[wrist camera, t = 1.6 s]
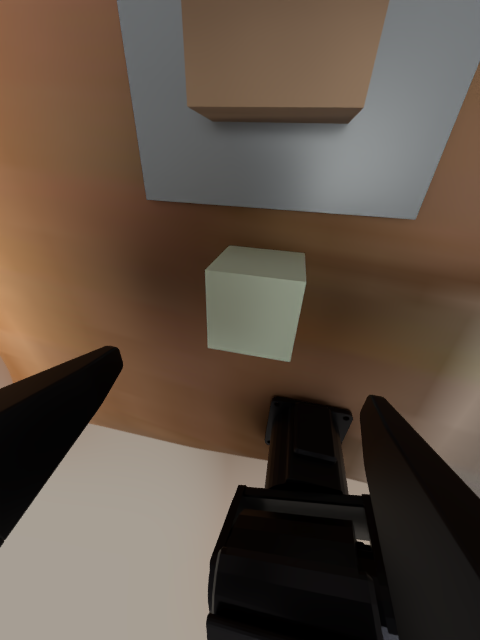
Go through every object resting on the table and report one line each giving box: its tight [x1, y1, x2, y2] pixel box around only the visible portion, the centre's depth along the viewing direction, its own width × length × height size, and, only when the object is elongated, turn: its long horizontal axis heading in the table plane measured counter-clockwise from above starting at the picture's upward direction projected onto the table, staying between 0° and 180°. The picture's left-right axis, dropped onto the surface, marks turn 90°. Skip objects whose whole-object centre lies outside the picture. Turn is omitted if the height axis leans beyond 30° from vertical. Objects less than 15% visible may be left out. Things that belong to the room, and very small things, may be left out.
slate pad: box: [117, 0, 480, 219], centre depth 9 cm, size 13×14×1 cm
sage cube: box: [205, 245, 306, 362], centre depth 14 cm, size 4×4×4 cm
